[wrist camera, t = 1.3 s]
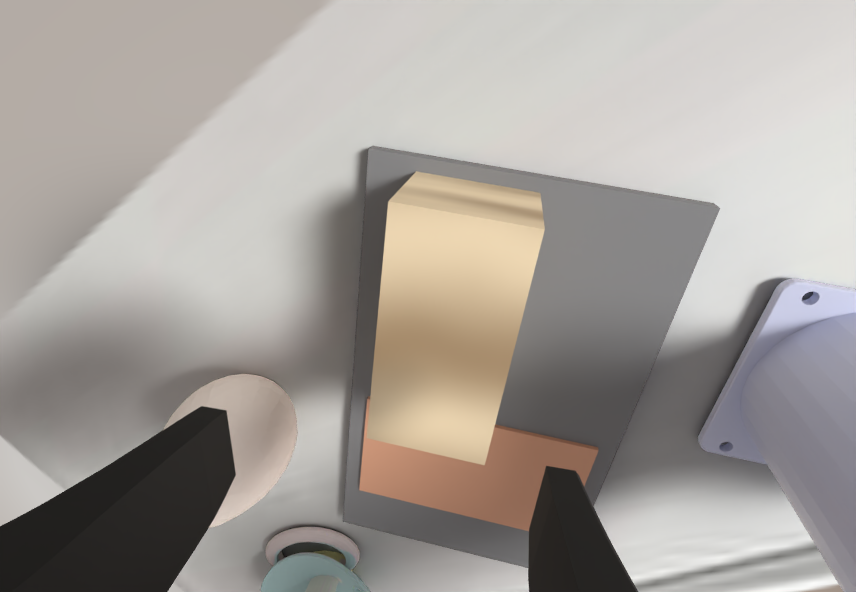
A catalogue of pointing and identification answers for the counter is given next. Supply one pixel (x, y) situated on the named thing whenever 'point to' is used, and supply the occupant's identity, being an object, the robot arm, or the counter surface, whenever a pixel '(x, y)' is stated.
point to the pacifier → (312, 563)
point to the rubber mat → (543, 327)
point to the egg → (249, 435)
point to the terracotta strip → (474, 474)
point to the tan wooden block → (450, 311)
